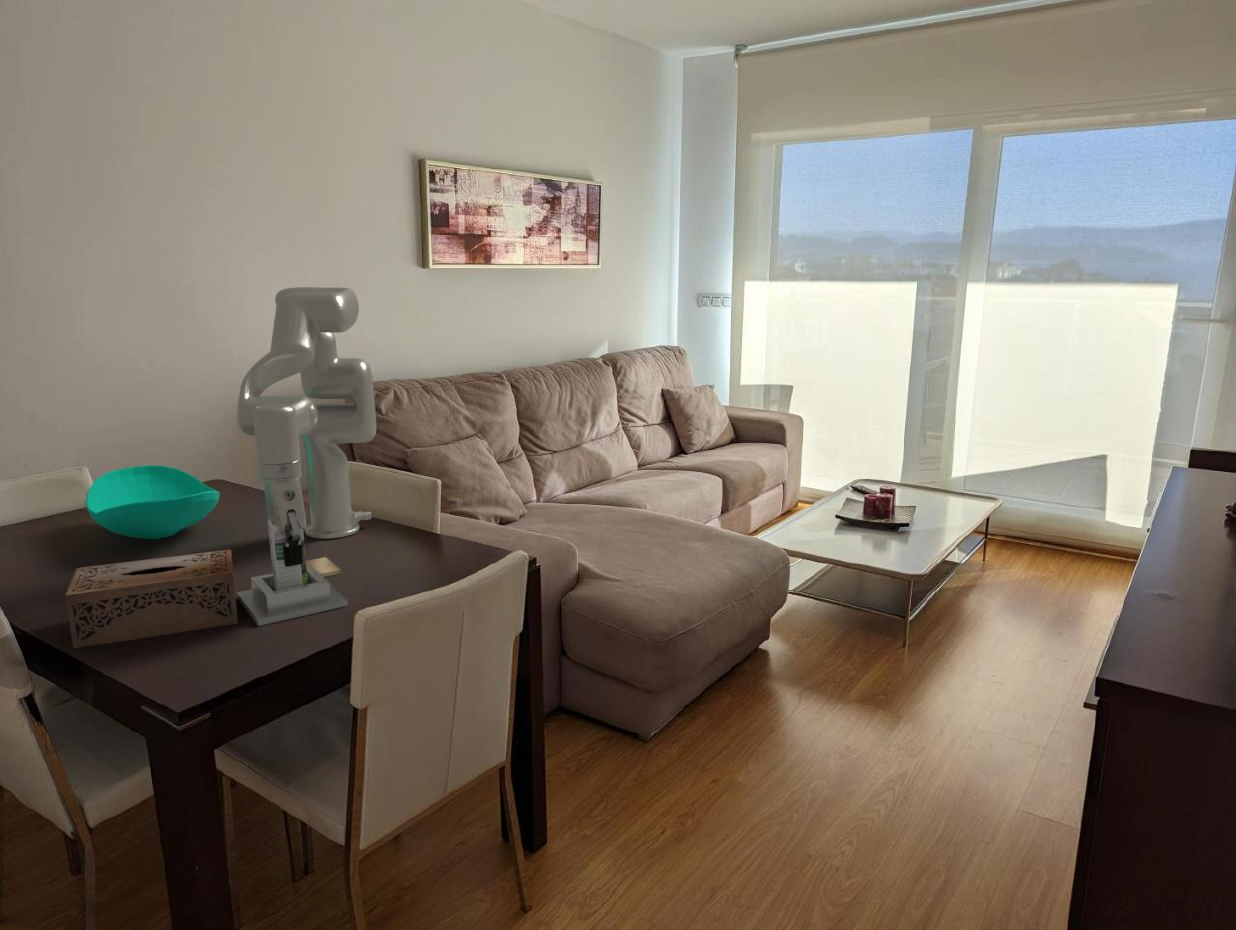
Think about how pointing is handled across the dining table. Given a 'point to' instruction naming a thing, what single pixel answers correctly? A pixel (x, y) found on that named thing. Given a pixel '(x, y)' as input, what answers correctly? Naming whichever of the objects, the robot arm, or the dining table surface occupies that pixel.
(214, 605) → the tissue box cover
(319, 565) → the cork mat
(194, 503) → the table top decor
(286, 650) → the dining table surface
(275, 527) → the syrup box
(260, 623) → the gray stepped square frame
